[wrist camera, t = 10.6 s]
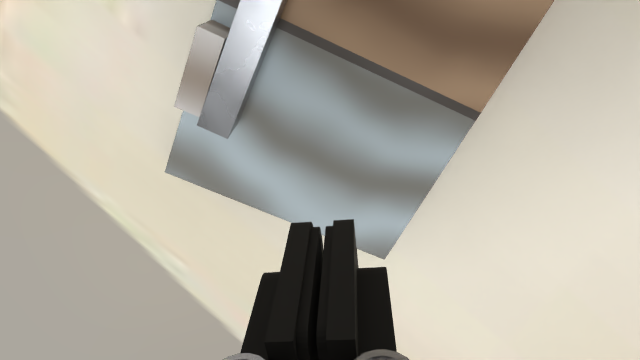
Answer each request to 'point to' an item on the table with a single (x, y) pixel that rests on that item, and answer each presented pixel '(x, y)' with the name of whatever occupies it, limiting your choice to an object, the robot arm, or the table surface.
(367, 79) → the plate
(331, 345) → the robot arm
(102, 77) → the table surface
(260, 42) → the lock bar
